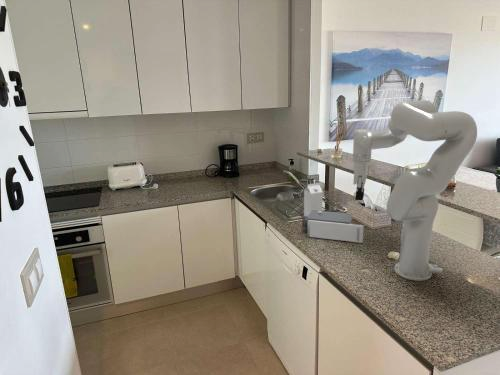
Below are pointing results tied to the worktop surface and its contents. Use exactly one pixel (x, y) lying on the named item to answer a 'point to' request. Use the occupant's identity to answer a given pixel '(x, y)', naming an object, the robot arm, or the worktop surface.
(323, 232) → the side door
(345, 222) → the cabinet with open door
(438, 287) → the worktop surface
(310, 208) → the milk carton
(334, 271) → the worktop surface
